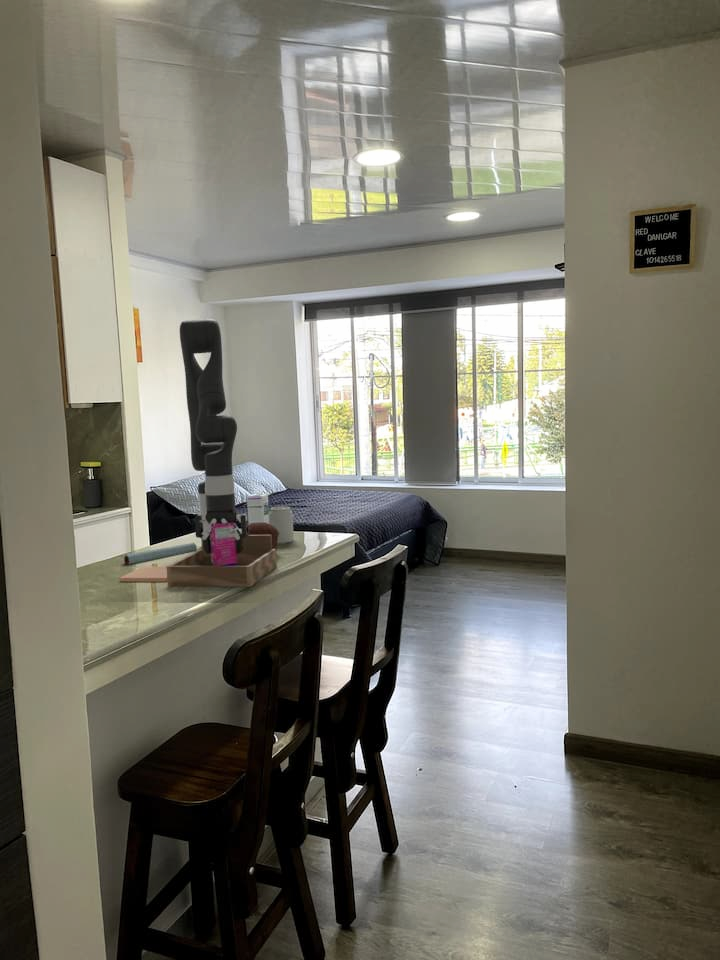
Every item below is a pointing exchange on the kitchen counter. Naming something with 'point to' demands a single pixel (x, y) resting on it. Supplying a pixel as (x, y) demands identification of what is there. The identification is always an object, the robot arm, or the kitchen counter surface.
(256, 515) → the syrup box
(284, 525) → the can
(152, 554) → the aluminum foil
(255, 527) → the muffin
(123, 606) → the kitchen counter surface
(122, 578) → the terracotta tile
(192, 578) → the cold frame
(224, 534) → the supplement box
